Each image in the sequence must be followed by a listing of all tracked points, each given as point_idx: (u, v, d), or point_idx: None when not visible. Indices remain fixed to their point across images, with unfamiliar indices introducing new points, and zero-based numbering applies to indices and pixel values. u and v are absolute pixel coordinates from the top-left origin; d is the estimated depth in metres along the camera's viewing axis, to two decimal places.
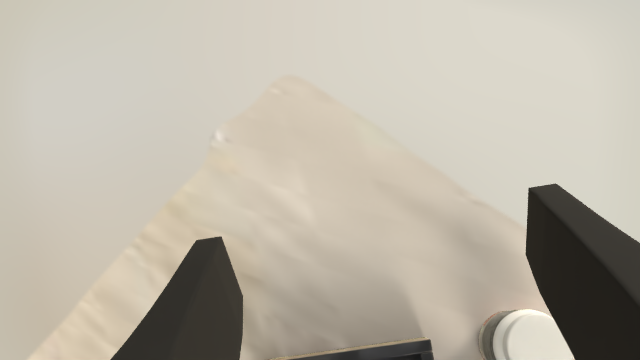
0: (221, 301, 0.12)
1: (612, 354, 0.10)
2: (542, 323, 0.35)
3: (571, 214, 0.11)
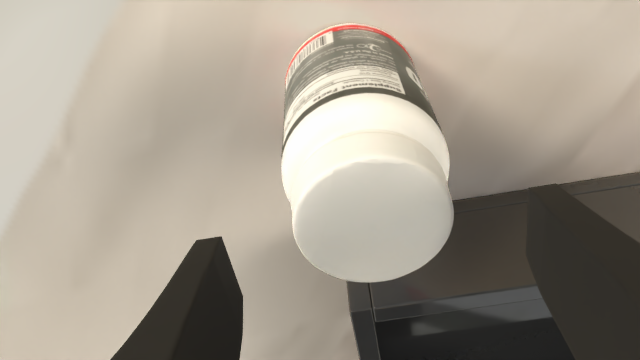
0: (221, 302, 0.12)
1: (612, 354, 0.10)
2: (314, 221, 0.14)
3: (571, 214, 0.11)
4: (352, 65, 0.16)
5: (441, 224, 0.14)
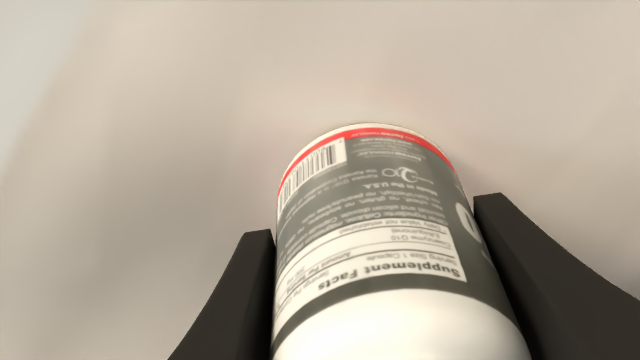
0: None
1: None
2: None
3: (508, 224, 0.11)
4: (377, 217, 0.11)
5: None
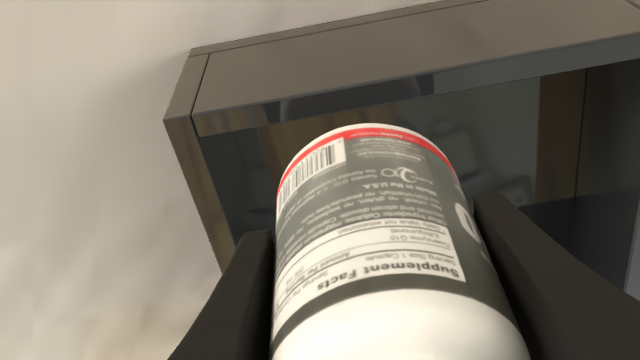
0: None
1: None
2: None
3: (508, 224, 0.11)
4: (377, 217, 0.11)
5: None
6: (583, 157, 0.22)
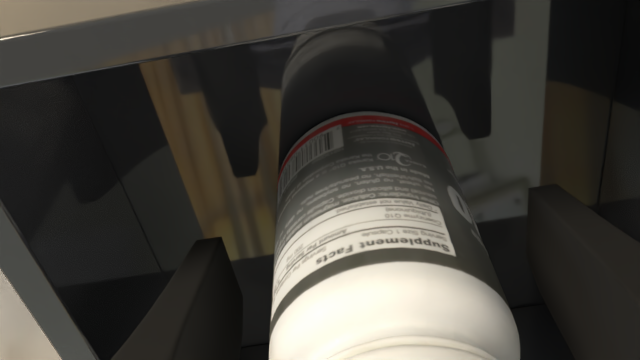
0: (221, 301, 0.12)
1: (611, 354, 0.10)
2: None
3: (571, 214, 0.11)
4: (372, 197, 0.11)
5: None
6: (613, 148, 0.15)
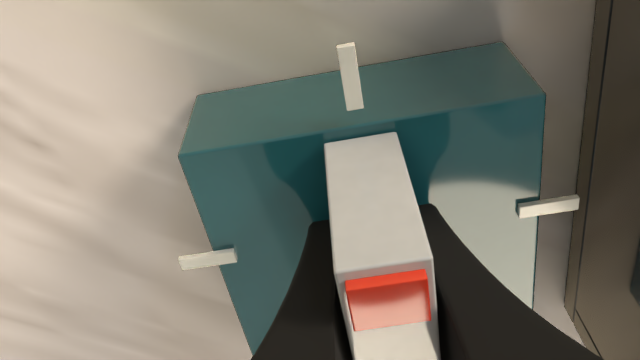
0: None
1: None
2: None
3: (431, 236, 0.11)
4: None
5: None
6: None
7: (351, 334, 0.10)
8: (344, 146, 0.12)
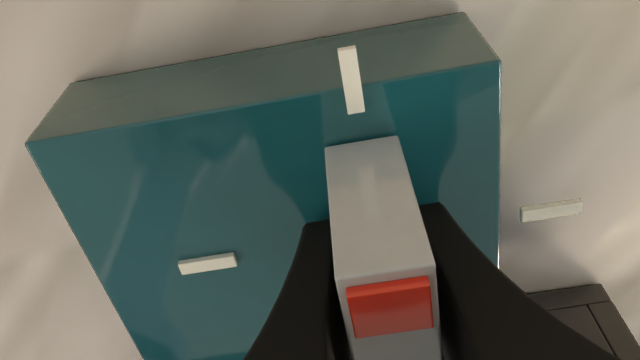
0: None
1: None
2: None
3: (440, 234, 0.11)
4: None
5: None
6: None
7: (353, 341, 0.10)
8: (345, 150, 0.12)
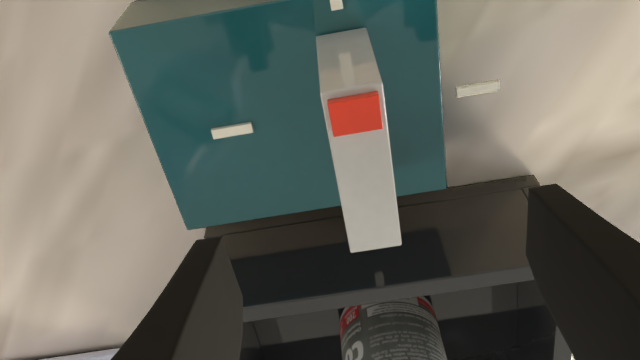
0: (221, 301, 0.12)
1: (612, 354, 0.10)
2: None
3: (571, 214, 0.11)
4: None
5: None
6: (257, 343, 0.28)
7: (332, 143, 0.15)
8: (329, 36, 0.17)
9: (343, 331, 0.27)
